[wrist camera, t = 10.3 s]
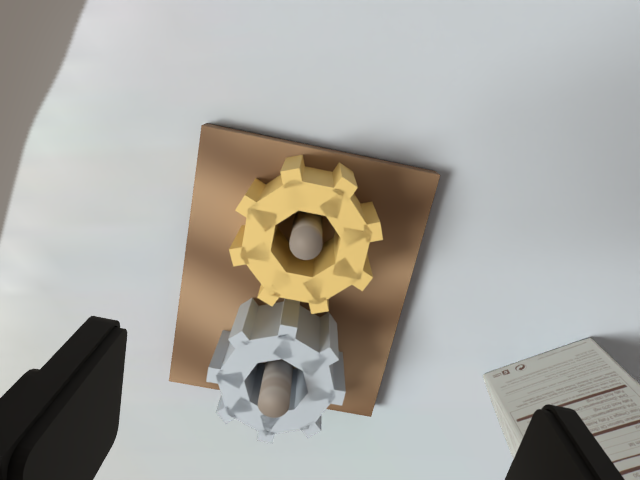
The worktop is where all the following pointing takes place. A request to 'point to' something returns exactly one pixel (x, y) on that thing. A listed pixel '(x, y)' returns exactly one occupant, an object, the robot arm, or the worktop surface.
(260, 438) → the slate gear
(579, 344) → the supplement box
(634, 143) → the worktop surface
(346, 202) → the ochre gear
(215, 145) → the gear board
